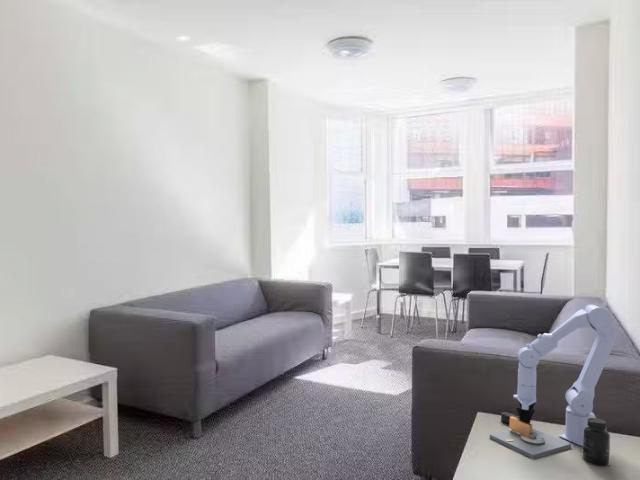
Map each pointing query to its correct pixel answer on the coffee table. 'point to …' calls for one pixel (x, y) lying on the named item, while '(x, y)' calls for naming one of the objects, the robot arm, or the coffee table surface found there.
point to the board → (529, 449)
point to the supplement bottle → (596, 442)
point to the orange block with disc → (525, 431)
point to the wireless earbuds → (507, 417)
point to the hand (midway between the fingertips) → (525, 424)
